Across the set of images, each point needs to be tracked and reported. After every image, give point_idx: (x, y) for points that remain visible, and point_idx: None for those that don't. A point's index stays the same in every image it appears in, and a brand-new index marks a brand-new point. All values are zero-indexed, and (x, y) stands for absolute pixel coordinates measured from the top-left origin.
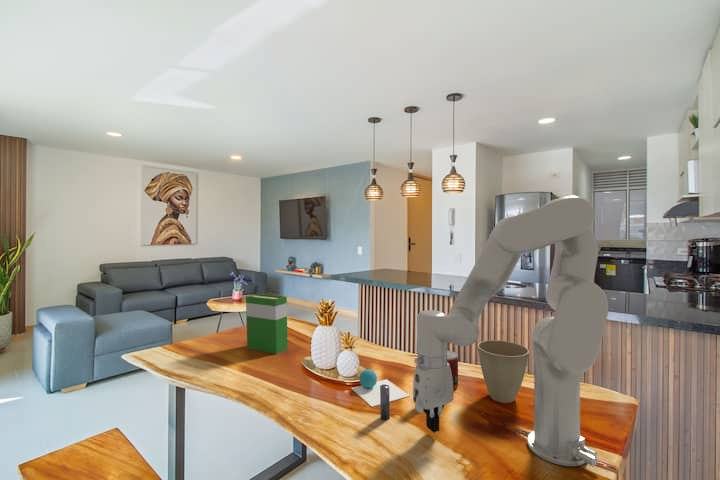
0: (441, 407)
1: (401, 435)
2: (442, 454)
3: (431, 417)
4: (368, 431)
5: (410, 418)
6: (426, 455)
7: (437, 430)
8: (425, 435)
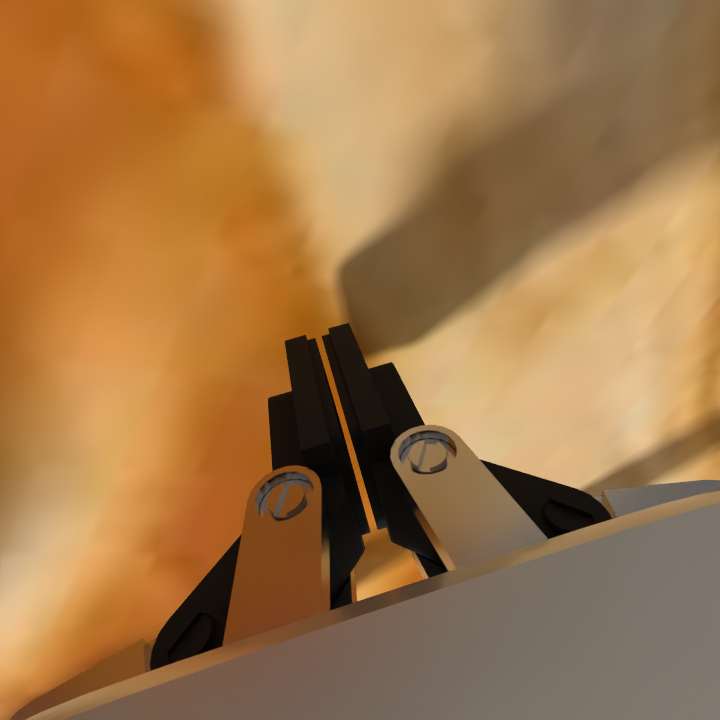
0: (247, 586)
1: (548, 380)
2: (382, 16)
3: (438, 427)
4: (684, 440)
5: (387, 531)
6: (541, 65)
7: (305, 342)
8: (386, 353)
